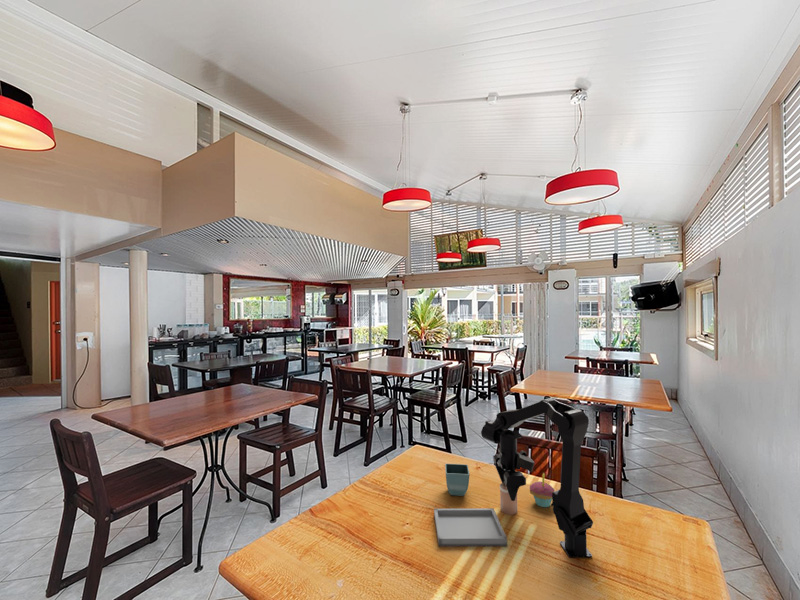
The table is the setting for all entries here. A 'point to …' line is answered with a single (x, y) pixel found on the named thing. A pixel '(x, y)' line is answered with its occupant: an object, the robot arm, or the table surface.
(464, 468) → the flower pot
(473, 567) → the table surface
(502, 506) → the cup
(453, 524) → the tray
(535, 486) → the cupcake
